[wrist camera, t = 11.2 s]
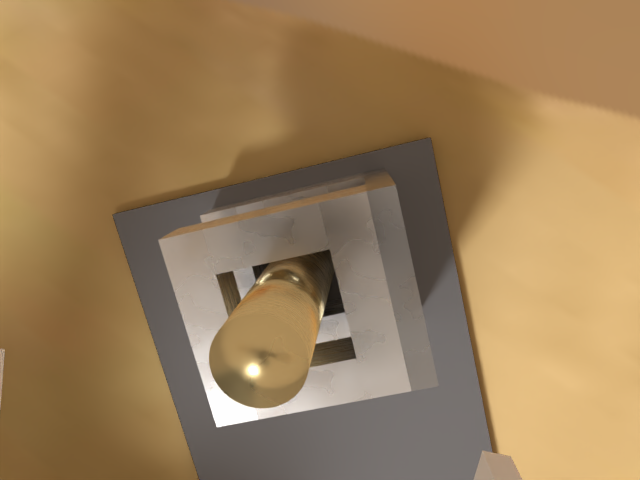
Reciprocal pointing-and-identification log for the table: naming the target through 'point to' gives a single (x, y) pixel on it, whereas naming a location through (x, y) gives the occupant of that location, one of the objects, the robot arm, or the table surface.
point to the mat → (431, 276)
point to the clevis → (339, 315)
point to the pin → (273, 332)
